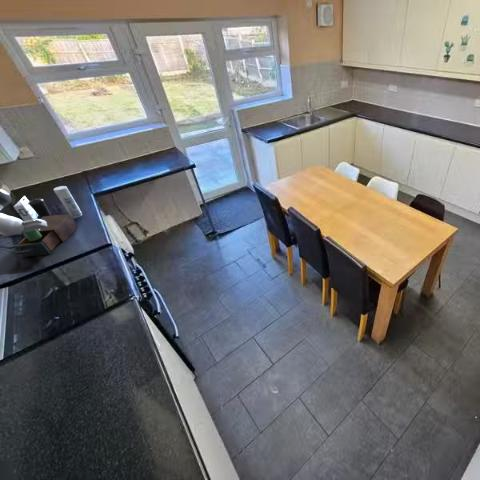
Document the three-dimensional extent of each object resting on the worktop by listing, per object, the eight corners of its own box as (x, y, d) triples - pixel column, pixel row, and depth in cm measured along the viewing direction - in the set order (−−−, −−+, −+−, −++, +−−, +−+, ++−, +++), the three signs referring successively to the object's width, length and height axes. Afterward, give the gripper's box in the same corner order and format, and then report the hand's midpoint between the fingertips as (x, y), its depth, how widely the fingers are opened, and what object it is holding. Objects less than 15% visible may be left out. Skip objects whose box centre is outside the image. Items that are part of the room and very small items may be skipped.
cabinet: (63, 242, 159) (53, 229, 153) (36, 245, 157) (24, 232, 151) (78, 226, 171) (69, 213, 165) (53, 229, 170) (42, 216, 164)
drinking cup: (55, 215, 182) (37, 188, 170) (56, 220, 177) (38, 192, 166) (40, 220, 178) (20, 192, 166) (41, 224, 173) (21, 196, 162)
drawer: (45, 260, 146) (35, 249, 141) (17, 263, 144) (6, 252, 139) (65, 237, 161) (57, 226, 156) (41, 240, 160) (31, 229, 155)
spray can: (77, 212, 184) (61, 185, 173) (85, 213, 183) (69, 186, 171) (68, 217, 179) (50, 189, 168) (76, 218, 178) (58, 190, 166)
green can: (26, 241, 147) (15, 229, 141) (33, 235, 151) (22, 223, 146) (38, 240, 147) (27, 228, 142) (44, 234, 151) (34, 222, 146)
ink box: (29, 216, 181) (15, 196, 173) (39, 214, 183) (25, 195, 175) (24, 222, 175) (9, 202, 166) (34, 220, 177) (19, 200, 168)
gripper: (35, 214, 137) (52, 220, 150) (-18, 225, 130) (4, 231, 143) (39, 225, 137) (55, 230, 150) (-14, 237, 130) (8, 242, 143)
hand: (30, 231), depth 147 cm, fingers closed on green can, 5 cm apart
